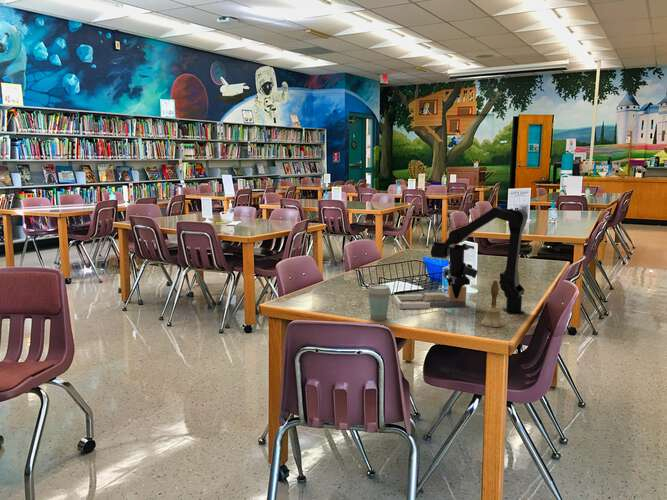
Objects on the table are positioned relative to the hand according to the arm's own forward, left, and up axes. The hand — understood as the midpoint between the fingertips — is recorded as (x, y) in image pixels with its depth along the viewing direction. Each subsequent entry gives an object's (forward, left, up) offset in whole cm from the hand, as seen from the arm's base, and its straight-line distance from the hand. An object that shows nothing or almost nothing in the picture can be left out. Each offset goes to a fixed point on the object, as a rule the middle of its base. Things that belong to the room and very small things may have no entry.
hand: (455, 297), depth 239 cm
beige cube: (0, +7, -2) cm, 7 cm away
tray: (0, +18, -2) cm, 18 cm away
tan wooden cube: (0, +11, -2) cm, 11 cm away
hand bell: (-30, -5, -3) cm, 31 cm away
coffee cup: (-20, +35, -3) cm, 40 cm away
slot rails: (0, +5, -2) cm, 5 cm away
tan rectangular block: (0, 0, -2) cm, 3 cm away
